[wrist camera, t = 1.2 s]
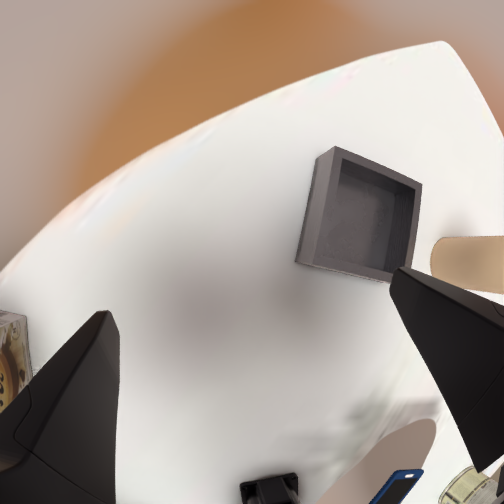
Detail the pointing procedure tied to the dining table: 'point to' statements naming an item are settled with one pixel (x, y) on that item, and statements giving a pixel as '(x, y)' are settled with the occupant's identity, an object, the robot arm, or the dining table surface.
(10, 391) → the coffee box
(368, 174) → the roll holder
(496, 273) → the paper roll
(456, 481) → the coffee can
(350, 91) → the dining table surface
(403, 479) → the cell phone
